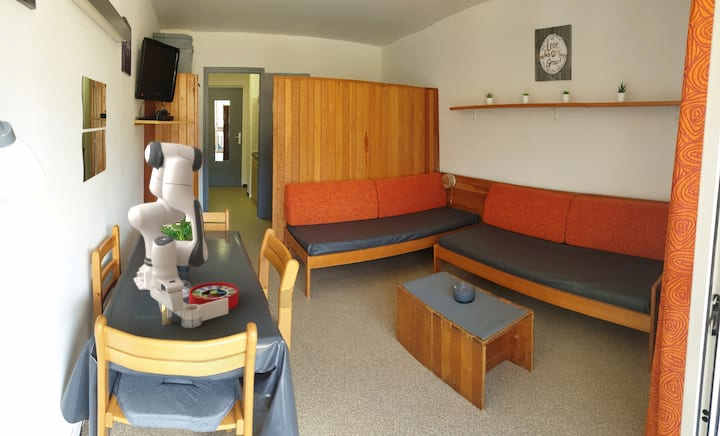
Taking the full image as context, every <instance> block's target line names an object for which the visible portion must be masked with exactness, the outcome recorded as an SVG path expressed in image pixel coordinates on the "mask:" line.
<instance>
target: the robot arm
mask: <svg viewBox="0 0 720 436" xmlns="http://www.w3.org/2000/svg"><path fill="white" fill-rule="evenodd" d="M144 158H145V162H146V164H147V165H148V166H150V167H151V168H152V172H151V175H150V176H151V178H150V181H149V182H150V183H149V191H150V193H151V194H152V195H153V196H155V197H157V199H156V201H154V202H146V203H145V202H144V203H140V204H137V205H134V206H131V207H130V209H129V210H128V213H127V220H128V223H129V224H130V225H131V226H132V227H133V228H134V229H135V230H138V232H139V233H141V235H142V237H143V240H144V248H145V255H144V256H145V257H144V260H143V261H144V263H143V264H142V265H141V266H140V267H139V268H138V271H137V272H136V277H133V281H134V283H135V285H136V287H137V288H138V290H140V291H143V290H144V291H145V290H148V291H149V293H150V297H151V298H152V299H153V300H155V301H157V302H158V305H159V309H160V313H161V314H162V305H164V306H165V307H166V309H167V312H166V317H168V318H169V317H171V318H172V317H173V313H174V312H177V311H180V310H182V308H183V301H184V292H183V290H184V289H185V285H184V283H183V281H182V280H181V278H180V277H179V276H180V275H179V270H178V268H177V267H178V266H184V267H194V268H200V267H201V266H203V265H204V264H205V263H206V262H207V261H208V257H209V256H208V255H209V251H208V245H207V241H206V235H205V234H206V233H205V224H204V214H203V209H202V205H201V203H200V201H199V200H198V199H196V197H195V195H194V188H193V187H194V173H195V172H198V171H199V170H201V168H202V167H203V164H204V163H203V162H204V156H203V152H202V150H201V149H200V148H198V147H195V146H190V145H186V144H181V143H173V142H161V141H150V142H149V143H148V144H147V146H146V148H145V151H144ZM186 215H187V216H188V218H189V219H190V223H191V224H190V225H191V232H192V235H191V236H192V240H176V239H175V238H174V237H173V236H171V235H168V234H166V233H164V232H162V228H161V227H162V226H167V225H168V226H169V225H174V224H176V223H179V222H181V221H183V220H184V219H185V217H186Z"/></svg>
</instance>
